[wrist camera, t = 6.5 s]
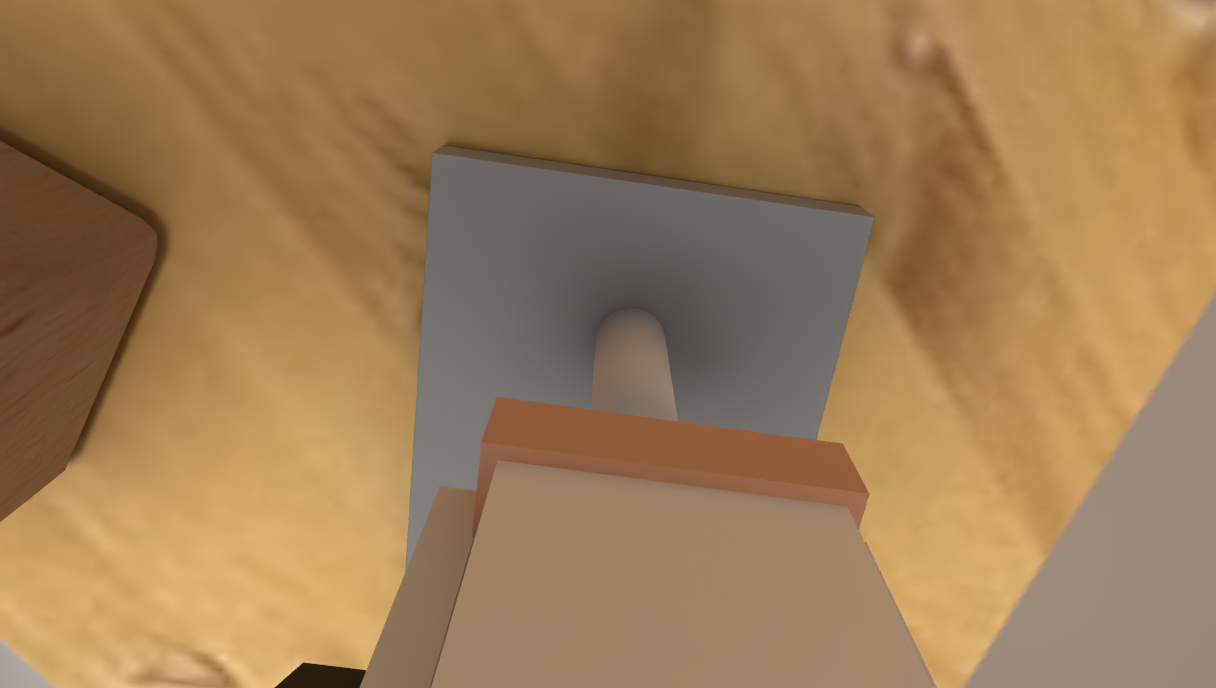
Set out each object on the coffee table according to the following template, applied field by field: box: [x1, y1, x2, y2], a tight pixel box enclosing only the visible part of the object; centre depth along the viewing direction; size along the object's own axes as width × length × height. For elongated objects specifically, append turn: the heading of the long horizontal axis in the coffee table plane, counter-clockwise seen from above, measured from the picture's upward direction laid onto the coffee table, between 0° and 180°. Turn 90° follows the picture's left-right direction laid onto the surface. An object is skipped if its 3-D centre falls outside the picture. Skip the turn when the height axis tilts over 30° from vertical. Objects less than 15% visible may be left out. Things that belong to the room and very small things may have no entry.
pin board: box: [405, 145, 875, 572], centre depth 23 cm, size 18×12×8 cm, turn 172°
